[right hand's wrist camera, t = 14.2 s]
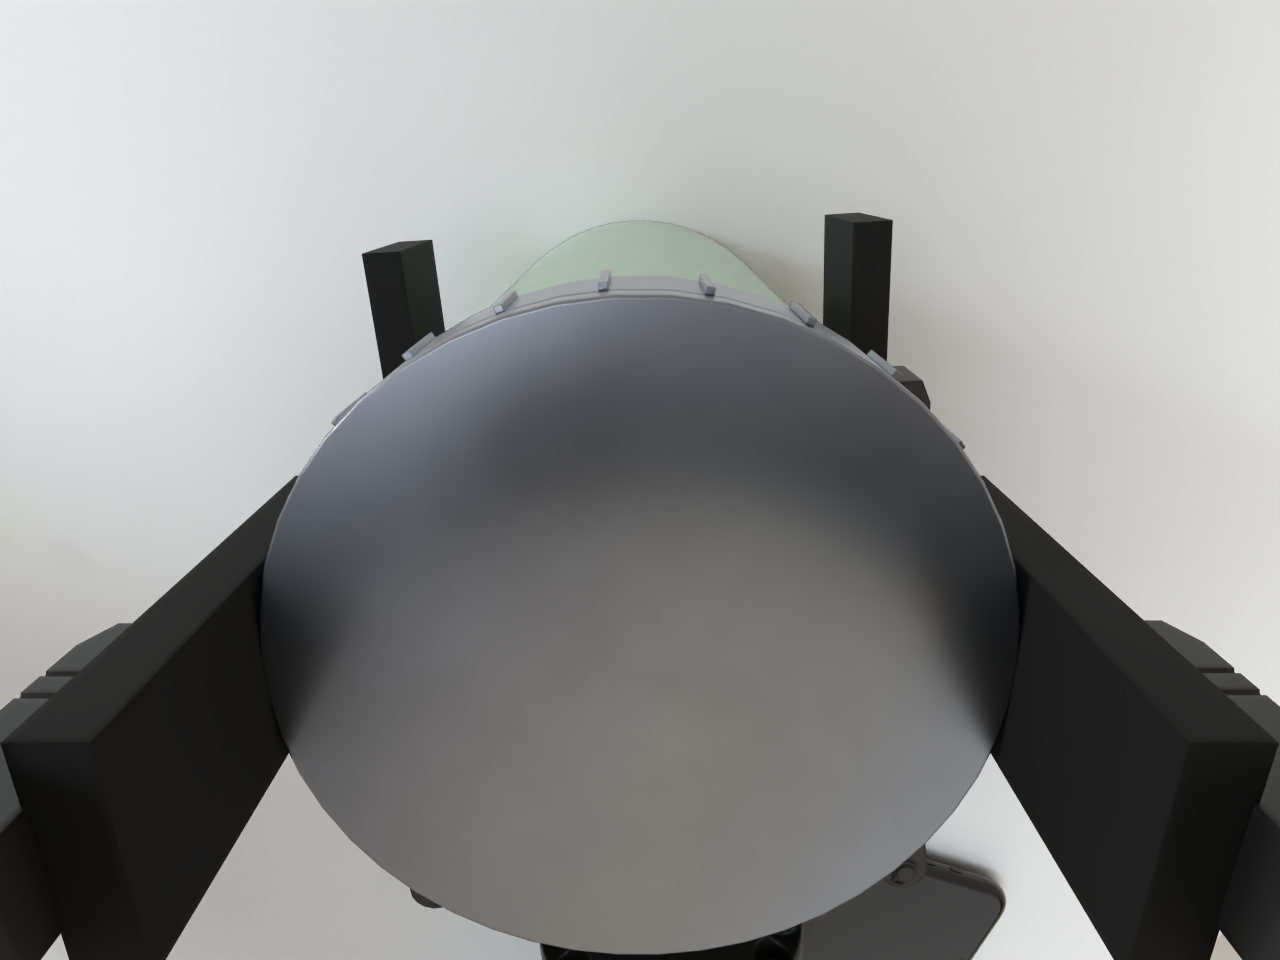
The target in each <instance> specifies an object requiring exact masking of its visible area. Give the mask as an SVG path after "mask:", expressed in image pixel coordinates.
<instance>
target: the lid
mask: <svg viewBox="0 0 1280 960" xmlns="http://www.w3.org/2000/svg"><path fill="white" fill-rule="evenodd" d="M402 357H403V358H404V359H405V362H404V363H403V364H401V365H400V366H399V367H398V368H397V369H395V370H394V371H393V372H392V373H391V374H389V375H388V376H387V377H386V378H385V379H383V380H382V381H381V382H380V383H379V384H377V385H376V386H375V387H374V388H373V389H371V390H370V391H369V392H368V393H366V392H365V393H364V394H363V395H362V396H360V397H359V398H358V399H357V400H355V401H354V402H353V403H352V404H351V405H349V406H348V407H347V408H346V409H345V410H343V411H342V412H341V413H340V414H339V415H337V416H336V417H335V418H334V420H333V421H332V422H331V423H332V424H333V425H334V426H335V427H334V428H333V429H332V430H331V431H330V432H329V433H328V434H327V435H326V437H325V438H324V439H323V441H322V442H321V444H320V445H319V447H318V448H317V450H316V451H315V453H314V454H313V456H312V457H311V459H310V460H309V462H308V463H307V465H306V466H305V468H304V469H303V470H302V472H301V473H300V475H299V476H298V478H297V480H296V482H295V485H294V487H293V489H292V491H291V493H290V494H289V495H288V498H287V500H286V504H285V506H284V508H283V510H282V512H281V514H280V516H279V518H278V521H277V524H276V528H275V531H274V534H273V538H272V541H271V545H270V548H269V551H268V555H267V558H266V562H265V566H264V574H263V582H262V589H261V597H260V604H259V632H260V651H261V657H262V663H263V668H264V674H265V679H266V685H267V690H268V696H269V701H270V705H271V708H272V711H273V714H274V717H275V720H276V723H277V726H278V729H279V732H280V735H281V737H282V739H283V741H284V743H285V745H286V747H287V749H288V751H289V753H290V755H291V757H292V760H293V762H294V764H295V766H296V768H297V770H298V772H299V774H300V775H301V777H302V778H303V780H304V781H305V782H306V784H307V785H308V787H309V788H310V790H311V791H312V793H313V794H314V796H315V797H316V799H317V800H318V802H319V803H320V805H321V806H322V808H323V809H324V810H325V811H326V812H327V814H328V815H329V816H330V817H331V818H332V819H333V820H334V822H335V823H336V824H337V825H338V826H339V827H340V828H341V830H342V831H343V832H344V833H345V834H346V835H347V836H348V838H349V839H350V840H351V841H352V842H354V843H355V844H356V845H357V846H358V847H359V848H360V849H361V850H362V851H364V852H365V853H366V854H367V855H368V856H369V857H370V858H371V859H372V860H374V861H375V862H376V863H377V864H378V865H379V866H380V867H381V868H383V869H384V870H386V871H387V872H388V873H390V874H391V875H393V876H394V877H395V878H397V879H398V880H400V881H401V882H402V883H404V884H405V885H407V886H408V887H410V888H411V889H412V890H414V891H415V892H417V893H419V894H420V895H422V896H424V897H426V898H428V899H429V900H431V901H433V902H435V903H437V904H438V905H440V906H442V907H444V908H446V909H447V910H449V911H451V912H453V913H455V914H458V915H460V916H462V917H465V918H467V919H469V920H472V921H474V922H476V923H479V924H481V925H483V926H486V927H488V928H490V929H493V930H497V931H500V932H503V933H506V934H509V935H513V936H516V937H519V938H522V939H526V940H529V941H532V942H537V943H542V944H547V945H552V946H557V947H562V948H567V949H572V950H579V951H589V952H599V953H608V954H653V955H659V954H670V953H681V952H692V951H702V950H707V949H712V948H718V947H723V946H728V945H733V944H738V943H743V942H747V941H750V940H753V939H757V938H760V937H764V936H767V935H770V934H774V933H777V932H780V931H784V930H786V929H789V928H791V927H793V926H796V925H798V924H801V923H803V922H806V921H808V920H810V919H813V918H815V917H818V916H820V915H823V914H824V913H826V912H828V911H830V910H832V909H834V908H836V907H837V906H839V905H841V904H843V903H845V902H847V901H848V900H850V899H852V898H854V897H856V896H858V895H860V894H861V893H863V892H864V891H865V890H867V889H868V888H870V887H871V886H873V885H874V884H876V883H877V882H878V881H880V880H881V879H883V878H884V877H886V876H887V875H889V874H890V873H891V872H893V871H894V870H896V869H897V868H898V867H899V866H900V865H901V864H902V863H904V862H905V861H906V860H907V859H908V858H909V857H910V856H911V855H913V854H914V853H915V852H916V851H917V850H918V849H919V848H921V847H922V846H923V845H924V844H925V843H926V842H927V841H928V840H929V839H930V838H931V837H932V836H933V834H934V833H935V832H936V831H937V830H938V829H939V828H940V827H941V826H942V824H943V823H944V822H945V821H946V820H947V819H948V818H949V817H950V815H951V814H952V813H953V812H954V811H955V809H956V808H957V807H958V805H959V804H960V802H961V801H962V799H963V798H964V796H965V795H966V794H967V792H968V791H969V789H970V788H971V786H972V785H973V783H974V782H975V781H976V779H977V778H978V776H979V774H980V772H981V770H982V768H983V766H984V764H985V762H986V760H987V758H988V756H989V754H990V752H991V750H992V748H993V747H994V745H995V743H996V741H997V738H998V735H999V733H1000V730H1001V727H1002V724H1003V721H1004V718H1005V715H1006V712H1007V709H1008V707H1009V703H1010V698H1011V693H1012V688H1013V682H1014V677H1015V671H1016V666H1017V660H1018V654H1019V642H1020V615H1021V612H1020V603H1019V595H1018V586H1017V578H1016V569H1015V565H1014V561H1013V558H1012V554H1011V551H1010V547H1009V544H1008V540H1007V536H1006V533H1005V529H1004V526H1003V523H1002V521H1001V518H1000V516H999V514H998V512H997V510H996V507H995V505H994V503H993V501H992V499H991V497H990V494H989V492H988V490H987V488H986V486H985V483H984V481H983V480H982V478H981V477H980V475H979V474H978V472H977V470H976V469H975V467H974V466H973V464H972V463H971V461H970V460H969V458H968V457H967V455H966V454H965V452H964V451H963V449H964V448H965V446H964V444H963V443H962V441H961V440H960V439H959V438H957V437H956V436H955V435H954V434H953V433H952V432H950V431H949V430H948V429H947V428H946V427H945V426H943V424H942V423H941V422H940V421H939V420H938V419H937V418H936V417H935V416H934V414H933V413H932V412H931V411H930V410H929V409H928V408H927V407H926V406H925V404H924V403H923V402H922V401H920V400H919V399H918V398H917V397H916V396H915V395H913V394H912V393H911V392H910V391H909V390H907V389H906V388H905V387H904V386H903V385H901V384H900V383H899V382H898V380H899V379H900V378H901V377H902V376H903V375H902V374H901V373H900V372H899V371H897V370H896V369H895V368H894V367H892V366H891V365H890V364H889V363H887V362H886V361H885V360H884V359H882V358H881V357H880V356H879V355H877V354H876V353H875V352H874V351H873V350H871V351H870V352H869V353H868V354H867V355H866V354H864V353H863V352H862V351H861V350H860V349H858V348H857V347H856V346H855V345H853V344H852V343H851V342H850V341H848V340H847V339H845V338H844V337H842V336H840V335H839V334H837V333H835V332H834V331H832V330H831V329H829V328H827V327H826V326H824V325H822V324H821V323H819V322H818V321H817V319H816V318H815V317H814V316H812V315H811V314H810V313H809V312H808V311H807V310H806V309H804V308H803V307H802V306H801V305H800V304H798V303H796V302H794V301H792V303H791V305H790V307H787V306H784V305H782V304H780V303H778V302H775V301H773V300H771V299H768V298H766V297H764V296H760V295H757V294H753V293H749V292H746V291H742V290H739V289H735V288H732V287H728V286H725V285H721V284H718V283H713V282H712V280H711V279H710V277H709V275H706V274H700V276H699V281H697V280H690V279H683V278H676V277H669V276H613V277H611V270H603V271H602V272H601V275H600V278H597V279H589V280H581V281H574V282H567V283H563V284H559V285H555V286H552V287H548V288H544V289H541V290H537V291H533V292H529V293H526V294H522V295H519V296H518V295H517V292H516V290H513V291H510V292H508V293H507V294H506V295H505V296H504V297H503V298H502V299H501V300H499V301H498V302H497V303H496V304H495V305H494V306H493V307H490V308H488V309H485V310H483V311H481V312H478V313H476V314H474V315H472V316H471V317H469V318H467V319H465V320H464V321H462V322H460V323H459V324H457V325H455V326H454V327H452V328H450V329H449V330H447V331H445V332H444V333H442V334H440V335H439V336H437V337H435V336H434V335H433V333H432V332H431V333H429V334H428V335H426V336H425V337H424V338H422V339H421V340H420V341H419V342H417V343H416V344H415V345H414V346H412V347H411V348H410V349H409V350H407V351H406V352H405V353H404V354H402Z"/></svg>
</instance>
